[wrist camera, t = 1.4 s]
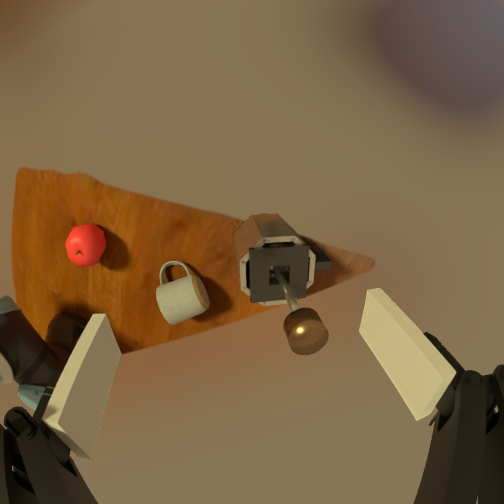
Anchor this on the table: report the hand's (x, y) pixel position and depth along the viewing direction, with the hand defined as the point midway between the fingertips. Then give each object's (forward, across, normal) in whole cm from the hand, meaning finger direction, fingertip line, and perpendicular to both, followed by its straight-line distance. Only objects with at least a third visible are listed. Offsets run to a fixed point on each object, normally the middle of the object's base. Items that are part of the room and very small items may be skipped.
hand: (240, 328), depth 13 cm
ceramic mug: (+37, -9, -17) cm, 42 cm away
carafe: (+37, +9, -10) cm, 39 cm away
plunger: (+27, +7, -10) cm, 29 cm away
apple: (+37, -26, -6) cm, 45 cm away
